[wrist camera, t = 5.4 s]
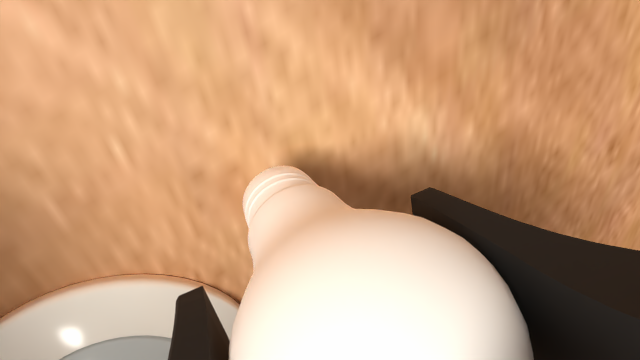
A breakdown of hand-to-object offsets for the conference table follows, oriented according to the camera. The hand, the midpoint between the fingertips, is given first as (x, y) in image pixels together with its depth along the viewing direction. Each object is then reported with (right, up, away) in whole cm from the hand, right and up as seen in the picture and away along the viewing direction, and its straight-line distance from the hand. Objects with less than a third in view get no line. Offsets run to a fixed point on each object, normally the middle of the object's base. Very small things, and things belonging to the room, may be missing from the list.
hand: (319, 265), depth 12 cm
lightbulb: (-2, +2, +4) cm, 5 cm away
